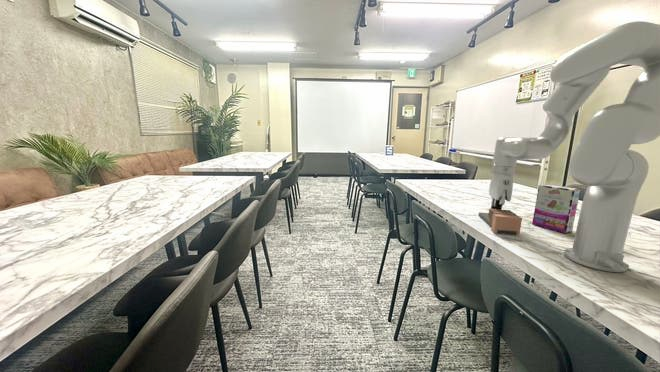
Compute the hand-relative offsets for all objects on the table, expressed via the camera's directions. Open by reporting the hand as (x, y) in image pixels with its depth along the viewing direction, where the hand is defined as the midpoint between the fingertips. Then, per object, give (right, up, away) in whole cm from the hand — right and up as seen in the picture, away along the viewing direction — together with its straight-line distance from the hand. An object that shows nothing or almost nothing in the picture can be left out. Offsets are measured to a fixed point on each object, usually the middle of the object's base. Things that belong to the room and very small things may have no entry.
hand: (494, 215), depth 102 cm
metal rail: (0, -4, 0) cm, 4 cm away
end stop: (-2, -5, -9) cm, 11 cm away
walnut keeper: (-1, -3, -5) cm, 6 cm away
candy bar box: (+20, -5, -3) cm, 21 cm away
